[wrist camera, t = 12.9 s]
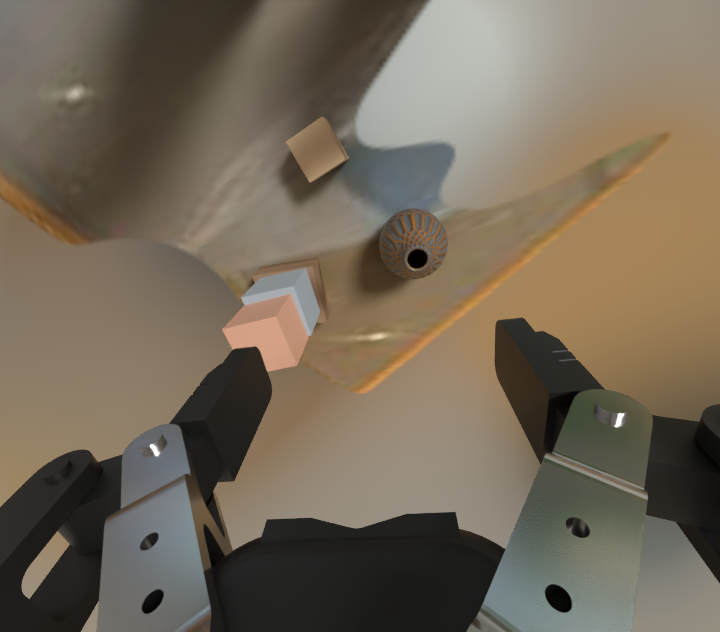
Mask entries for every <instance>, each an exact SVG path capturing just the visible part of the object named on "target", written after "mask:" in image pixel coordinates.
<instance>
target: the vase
mask: <svg viewBox="0 0 720 632" xmlns="http://www.w3.org/2000/svg"><path fill="white" fill-rule="evenodd" d="M447 246H448V241H447V234H446V231H445V229H444V227H443V225H442V224H441V222H440V221H439V220H438V219H437V218H436V217H435V216H434V215H432V214H431V213H429V212H427V211H424V210H421V209H407V210H403V211H401V212H398V213H397V214H395V215H394V216H392V217H391V218H390V219H389V220H388V221H387V223H386V224H385V226H384V227H383V229H382V232H381V235H380V239H379V251H380V255H381V258H382V260H383V262H384V264H385V265H386V267H387V268H388V269H389V270H390V271H391V272H393V273H394V274H395V275H397V276H399V277H402V278H405V279H420V278H424V277H426V276H428V275H430V274H432V273H433V272H434V271H435V270H437V269H438V267H439V266H440V265H441V264H442V262H443V260H444V258H445V255H446V252H447Z"/></svg>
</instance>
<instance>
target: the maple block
mask: <svg viewBox="0 0 720 632" xmlns="http://www.w3.org/2000/svg"><path fill="white" fill-rule="evenodd" d="M286 144H287V145H288V147H289V149H290V150H291V152H292V154H293V156H294V157H295V159H296V161H297V162H298V164H299V166H300V167H301V169H302V171H303V172H304V174H305V176H306V177H307V179H308V181H309V182H310V183H311V182H313V181H315V180H317V179H319V178H320V177H322V176H323V175H325V174H326V173H328V172H330V171H331V170H333V169H334V168H336V167H337V166H339V165H340V164H342V163H343V162H345V161H346V160H348V159H349V157H348V156H347V154H346V152H345V150H344V148H343V146H342V144H341V142H340V141H339V139H338V137H337V135H336V133H335V131H334V129H333V128H332V126H331V124H330V122H329V120H328V119H326V118H324V117H320V118H319V119H317V120H316V121H314V122H313V123H312V124H310V125H309V126H307V127H306V128H305V129H303V130H302V131H300V132H299V133H298V134H296V135H295V136H293V137H292V138H290V139H289V140H288V141H286Z"/></svg>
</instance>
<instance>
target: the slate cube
mask: <svg viewBox="0 0 720 632" xmlns="http://www.w3.org/2000/svg"><path fill="white" fill-rule="evenodd" d="M287 294H291V295H292V298H293V300H294V303H295V305H296V308H297V310H298V313H299V315H300V318H301V320H302V322H303V325H304V327H305V330H306V332H307V335H308V336H310V335H312V332H313V330H314V327H315V324H316V322H317V319H318V317H319V314H320V309H319V306H318V303H317V300H316V297H315V294H314V291H313V288H312V285H311V282H310V279H309V276H308V273H307V270H306V268H302V269H298V270H293V271H289V272H284V273H280V274H276V275H271V276H267V277H263V278H259V279H258V280H257V281H256V283H255V284H254V285H253V286H252V287H251V288H250V289H249V290H248V291H247V292H246V293H245V294H244V295H243V296H242V297H241V299H242V301H243V303H244V305H248V304H252V303H256V302H260V301H264V300H268V299H272V298H275V297H279V296H283V295H287Z"/></svg>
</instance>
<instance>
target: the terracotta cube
mask: <svg viewBox="0 0 720 632" xmlns="http://www.w3.org/2000/svg"><path fill="white" fill-rule="evenodd" d="M222 330H223V332H224V334H225V336H226V338H227V340H228V342H229V344H230V346H231V348H232V349H235V348H244V347H254V346H256V347H257V348H258V349H259V350H260V352H261V355H262V358H263V361H264V364H265V367H266V370H267V372H269V371H273V370H278V369H283V368H288V367H292V366H297V365H298V362H299V360H300V357H301V355H302V352H303V350H304V347H305V345H306V343H307V340H308V338H309V337H308V335H307V332H306V330H305V327H304V325H303V322H302V320H301V318H300V315H299V313H298V310H297V308H296V305H295V303H294V300H293V298H292V295H291V294H287V295H283V296H279V297H275V298H272V299H268V300H264V301H260V302H256V303H252V304H248V305H244V306H243V307H242V308H241V310H240V311H239V312H238V313H237V314H236V315H235V316H234V317H233V318H232V319H231V320H230V322H229V323H228V324H227V325H226V326H225V327H224V328H223V329H222Z"/></svg>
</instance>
